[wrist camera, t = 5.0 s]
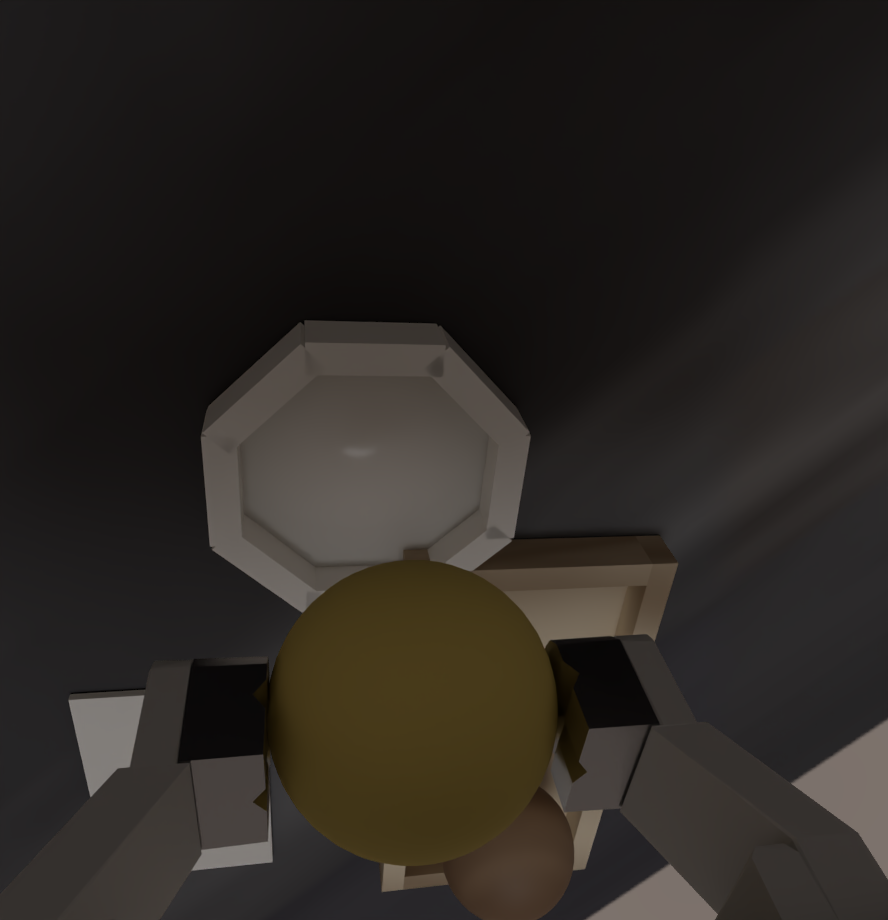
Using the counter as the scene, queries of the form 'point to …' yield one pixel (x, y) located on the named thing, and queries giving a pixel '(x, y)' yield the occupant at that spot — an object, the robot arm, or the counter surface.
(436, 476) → the white bowl
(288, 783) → the mustard ball
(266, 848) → the card
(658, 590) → the twin rack
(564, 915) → the counter surface
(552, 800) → the walnut ball
